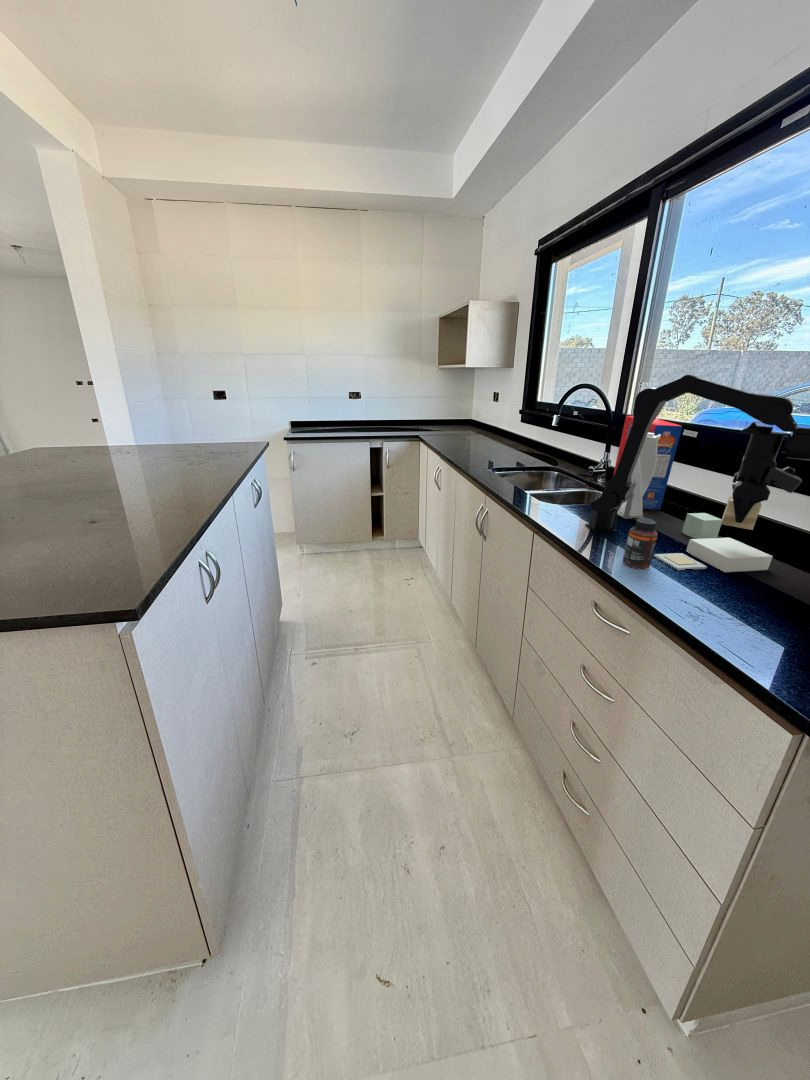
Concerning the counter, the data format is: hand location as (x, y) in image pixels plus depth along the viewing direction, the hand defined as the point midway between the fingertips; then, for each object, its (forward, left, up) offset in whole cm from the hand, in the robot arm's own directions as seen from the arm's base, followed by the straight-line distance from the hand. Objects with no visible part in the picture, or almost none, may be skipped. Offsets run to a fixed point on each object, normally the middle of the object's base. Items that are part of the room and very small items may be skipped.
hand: (738, 519), depth 104 cm
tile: (-13, 0, -11) cm, 17 cm away
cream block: (0, 0, -11) cm, 11 cm away
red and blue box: (+13, +54, -11) cm, 57 cm away
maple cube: (0, 0, -1) cm, 1 cm away
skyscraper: (-1, +36, -12) cm, 38 cm away
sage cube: (+7, +16, -11) cm, 21 cm away
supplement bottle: (-25, 0, -11) cm, 27 cm away
